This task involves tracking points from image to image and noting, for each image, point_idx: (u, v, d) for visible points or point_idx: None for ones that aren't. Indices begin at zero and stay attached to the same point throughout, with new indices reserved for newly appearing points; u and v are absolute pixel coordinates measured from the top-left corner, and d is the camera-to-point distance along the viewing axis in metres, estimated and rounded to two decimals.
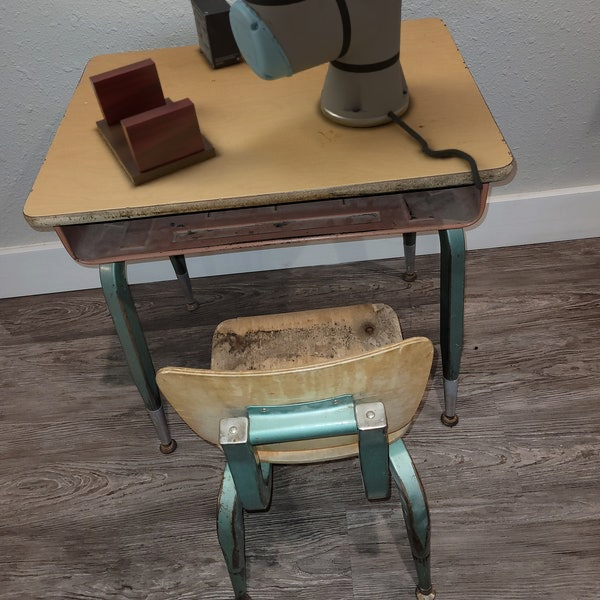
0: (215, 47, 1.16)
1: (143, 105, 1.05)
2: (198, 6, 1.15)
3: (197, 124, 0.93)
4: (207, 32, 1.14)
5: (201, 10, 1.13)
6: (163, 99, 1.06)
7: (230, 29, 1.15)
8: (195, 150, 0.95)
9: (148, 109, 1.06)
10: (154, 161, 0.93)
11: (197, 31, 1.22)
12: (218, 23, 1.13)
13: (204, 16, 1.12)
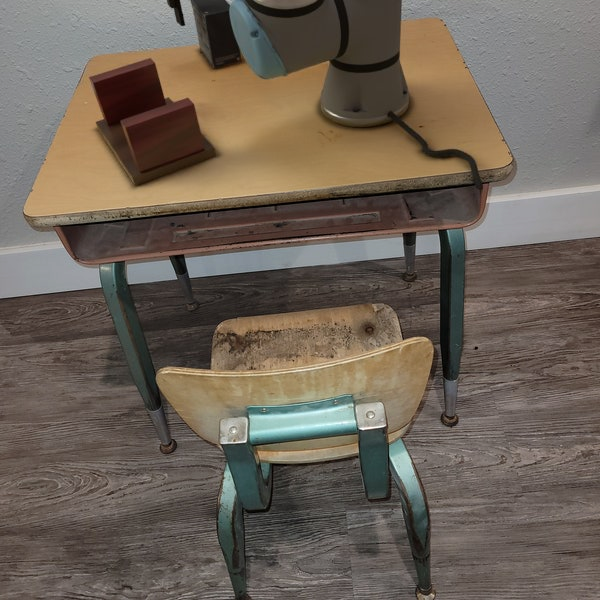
0: (215, 47, 1.16)
1: (143, 105, 1.05)
2: (198, 6, 1.15)
3: (197, 124, 0.93)
4: (207, 32, 1.14)
5: (201, 10, 1.13)
6: (163, 99, 1.06)
7: (230, 29, 1.15)
8: (195, 150, 0.95)
9: (148, 109, 1.06)
10: (154, 161, 0.93)
11: (197, 31, 1.22)
12: (218, 23, 1.13)
13: (204, 16, 1.12)
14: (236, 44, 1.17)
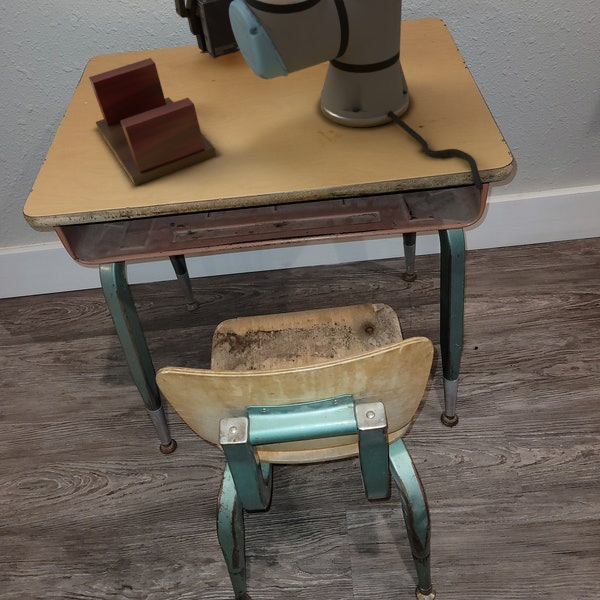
0: (214, 36, 1.14)
1: (143, 105, 1.05)
2: None
3: (197, 124, 0.93)
4: (205, 21, 1.12)
5: None
6: (163, 99, 1.06)
7: (229, 17, 1.13)
8: (195, 150, 0.95)
9: (148, 109, 1.06)
10: (154, 161, 0.93)
11: None
12: (216, 12, 1.11)
13: (202, 4, 1.10)
14: None
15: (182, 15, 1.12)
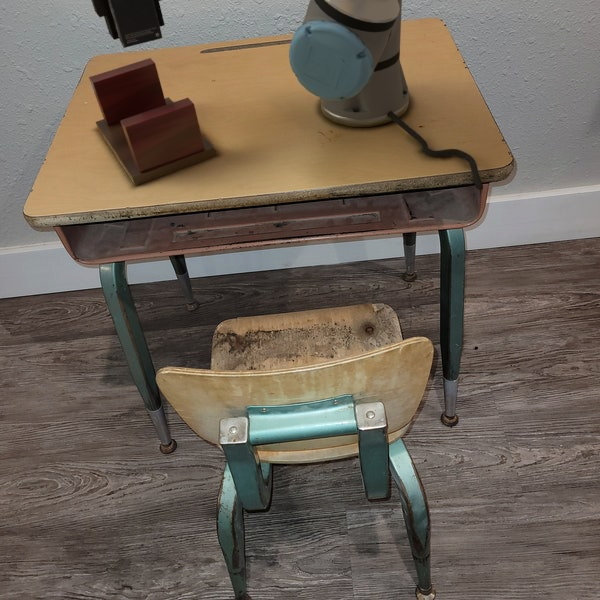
0: (123, 19, 0.86)
1: (143, 105, 1.05)
2: None
3: (197, 124, 0.93)
4: None
5: None
6: (163, 99, 1.06)
7: None
8: (195, 150, 0.95)
9: (148, 109, 1.06)
10: (154, 161, 0.93)
11: None
12: None
13: None
14: (152, 14, 0.87)
15: None
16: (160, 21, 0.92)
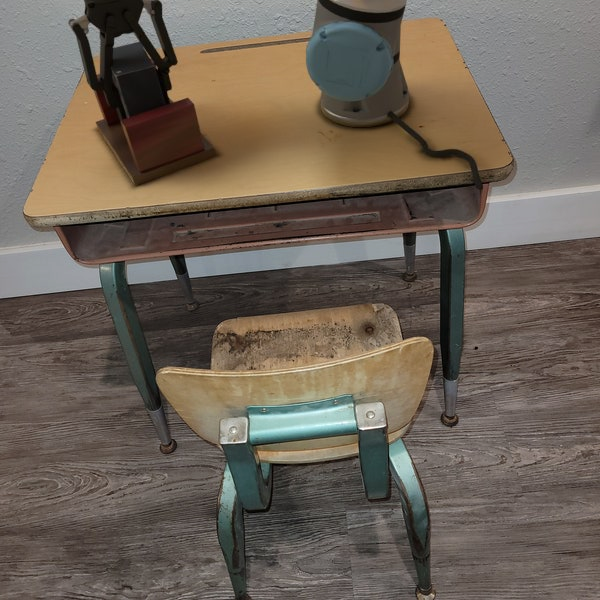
0: (135, 113, 0.92)
1: None
2: None
3: (197, 124, 0.93)
4: (122, 95, 0.90)
5: (113, 68, 0.89)
6: None
7: (152, 90, 0.91)
8: (195, 150, 0.95)
9: None
10: (154, 161, 0.93)
11: None
12: (135, 84, 0.89)
13: (116, 77, 0.87)
14: None
15: (93, 87, 0.90)
16: None
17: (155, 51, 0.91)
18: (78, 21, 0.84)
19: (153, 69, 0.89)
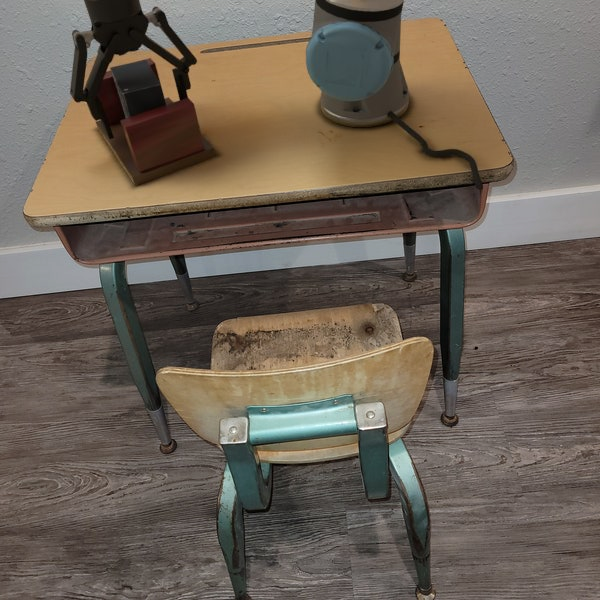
0: None
1: None
2: (117, 80, 0.93)
3: (197, 124, 0.93)
4: (129, 112, 0.92)
5: (120, 86, 0.91)
6: None
7: (158, 107, 0.93)
8: (195, 150, 0.95)
9: None
10: (154, 161, 0.93)
11: (122, 105, 1.00)
12: (142, 102, 0.91)
13: (123, 94, 0.90)
14: None
15: (76, 99, 0.90)
16: None
17: (170, 55, 0.93)
18: (83, 34, 0.86)
19: (159, 87, 0.91)
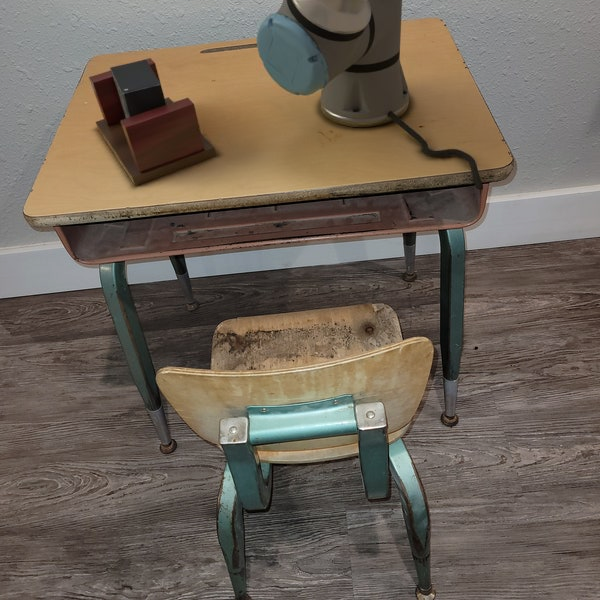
0: None
1: None
2: (118, 80, 0.93)
3: (197, 124, 0.93)
4: (129, 112, 0.92)
5: (120, 86, 0.91)
6: None
7: (158, 107, 0.93)
8: (195, 150, 0.95)
9: None
10: (154, 161, 0.93)
11: (122, 105, 1.00)
12: (142, 102, 0.91)
13: (123, 94, 0.90)
14: None
15: None
16: None
17: None
18: None
19: (159, 87, 0.91)
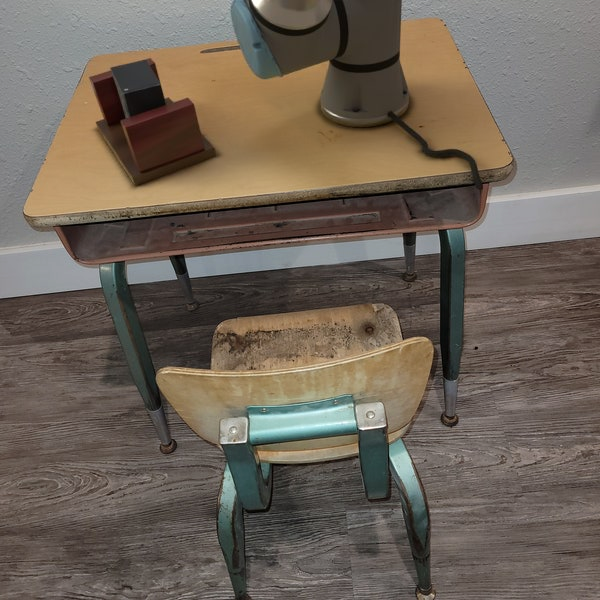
0: None
1: None
2: (118, 80, 0.93)
3: (197, 124, 0.93)
4: (129, 112, 0.92)
5: (120, 86, 0.91)
6: None
7: (158, 107, 0.93)
8: (195, 150, 0.95)
9: None
10: (154, 161, 0.93)
11: None
12: (142, 102, 0.91)
13: (123, 94, 0.90)
14: None
15: None
16: None
17: None
18: None
19: (159, 87, 0.91)
